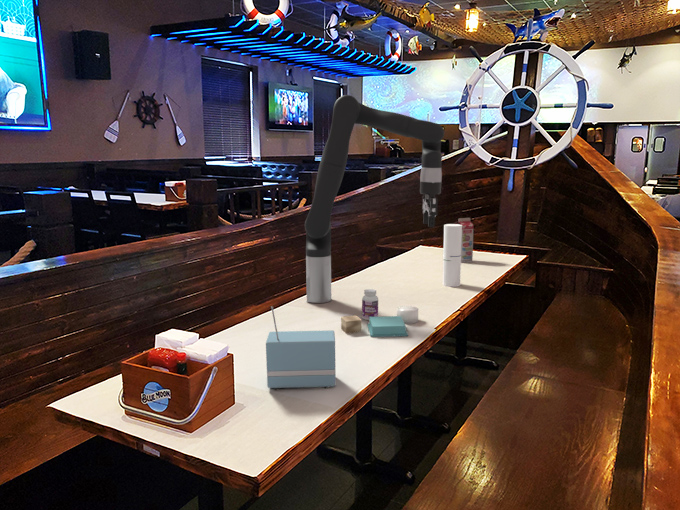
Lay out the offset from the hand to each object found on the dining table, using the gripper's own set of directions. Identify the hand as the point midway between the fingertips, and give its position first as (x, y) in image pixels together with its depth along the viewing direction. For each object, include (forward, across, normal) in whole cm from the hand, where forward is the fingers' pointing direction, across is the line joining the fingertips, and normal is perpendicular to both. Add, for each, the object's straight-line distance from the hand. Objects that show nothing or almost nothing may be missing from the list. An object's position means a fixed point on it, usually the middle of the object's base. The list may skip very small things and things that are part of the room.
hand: (428, 225), depth 195 cm
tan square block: (+29, +33, -30) cm, 53 cm away
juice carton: (+28, -71, +34) cm, 84 cm away
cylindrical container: (+28, -23, +16) cm, 39 cm away
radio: (+29, +70, -45) cm, 88 cm away
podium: (+28, +34, -19) cm, 48 cm away
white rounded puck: (+28, +24, -11) cm, 39 cm away
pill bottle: (+29, +21, -23) cm, 42 cm away
